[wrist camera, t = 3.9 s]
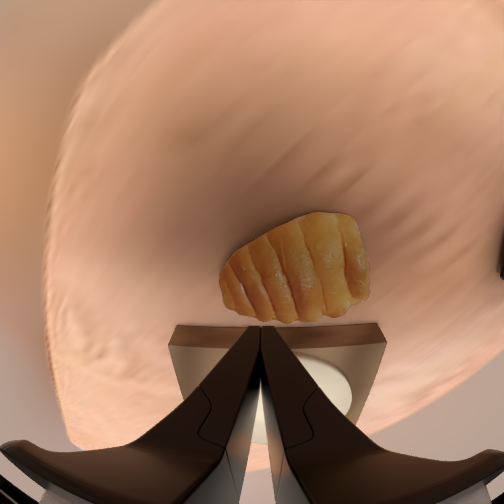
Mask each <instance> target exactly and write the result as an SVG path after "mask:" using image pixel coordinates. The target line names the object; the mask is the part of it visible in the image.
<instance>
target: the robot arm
mask: <svg viewBox="0 0 504 504" xmlns="http://www.w3.org/2000/svg"><path fill="white" fill-rule="evenodd" d="M500 278H501V279H503V280H504V263H503V266H502V270H501V274H500ZM260 384H261V396H262V404H263V412H264V419H265V427H266V435H267V443H268V450H269V458H270V466H271V473H272V481H273V488H274V495H275V501H276V504H504V493H502V494H501V495H499V496H498V497H497V498H495V499H494V500H492V501H491V499H490V496H489V493H488V490H487V488H486V485H487V484H488V483H490V482H491V481H492V480H493V479H495V478H496V477H497V476H498V475H500V474H501V473H502V472H503V471H504V452H502V451H498V450H492V449H487V450H484V451H482V452H480V453H478V454H476V455H475V456H473V457H471V458H468V459H465V460H460V461H439V460H432V459H426V458H420V457H415V456H410V455H405V454H400V453H395V452H391V451H388V450H386V449H384V448H382V447H380V446H378V445H377V444H376V443H374V442H373V441H372V440H371V439H369V438H368V437H367V436H366V435H365V434H364V433H363V432H362V431H361V430H360V429H359V428H358V427H356V426H355V425H354V424H353V423H352V422H351V421H350V420H349V419H348V418H347V417H346V416H345V415H344V414H343V413H342V412H341V411H340V410H339V409H338V408H337V407H336V406H335V405H334V404H333V403H332V402H331V400H330V399H329V398H328V397H327V396H326V395H325V393H324V392H323V391H322V389H321V388H320V387H319V386H318V384H317V383H316V382H315V380H314V379H313V378H312V376H311V375H310V374H309V372H308V371H307V370H306V369H305V367H304V366H303V365H302V363H301V362H300V361H299V359H298V358H297V357H296V355H295V354H294V353H293V351H292V350H291V349H290V347H289V346H288V345H287V343H286V342H285V341H284V339H283V338H282V337H281V335H280V334H279V333H278V331H277V330H276V328H275V327H274V326H262V327H260V326H248V327H247V328H246V330H245V331H244V332H243V333H242V334H241V336H240V337H239V338H238V339H237V340H236V342H235V343H234V344H233V345H232V346H231V348H230V349H229V350H228V351H227V352H226V354H225V355H224V356H223V357H222V358H221V359H220V361H219V362H218V363H217V364H216V365H215V366H214V368H213V369H212V370H211V371H210V372H209V373H208V374H207V376H206V377H205V378H204V379H203V380H202V381H201V382H200V384H199V386H197V387H196V388H195V389H194V390H193V391H192V392H191V394H190V395H189V396H188V397H187V398H186V399H185V400H184V401H183V402H182V403H181V404H180V405H179V406H178V407H176V408H175V409H174V410H173V411H172V412H171V413H170V414H168V415H167V416H166V417H165V418H164V419H162V420H161V421H160V422H159V423H157V424H156V425H155V426H154V427H152V428H151V429H150V430H149V431H147V432H146V433H145V434H144V435H142V436H141V437H140V438H138V439H137V440H135V441H133V442H131V443H129V444H127V445H123V446H119V447H113V448H106V449H98V450H89V451H78V452H52V451H48V450H45V449H42V448H40V447H38V446H36V445H35V444H33V443H31V442H29V441H27V440H15V441H9V442H7V443H4V444H2V445H1V446H0V451H1V452H2V454H3V455H4V456H5V457H6V458H7V459H8V460H10V461H11V462H12V463H13V464H14V465H15V466H16V467H18V468H19V469H20V470H21V471H22V472H23V473H25V474H26V475H27V476H28V477H30V478H31V479H32V480H33V481H35V482H36V483H37V484H39V485H40V486H41V487H43V488H44V489H45V491H44V493H43V495H42V498H41V500H40V502H39V503H38V502H37V501H36V500H34V499H33V498H31V497H29V496H28V495H27V494H25V493H24V492H23V491H21V490H20V489H18V488H17V487H16V486H14V485H13V484H12V483H11V482H9V481H8V480H6V479H5V478H4V477H3V476H2V475H0V504H239V500H240V495H241V490H242V485H243V481H244V476H245V471H246V466H247V460H248V455H249V450H250V445H251V439H252V434H253V428H254V423H255V417H256V412H257V406H258V400H259V394H260Z"/></svg>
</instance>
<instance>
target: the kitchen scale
mask: <svg viewBox="0 0 504 504" xmlns="http://www.w3.org/2000/svg"><path fill="white" fill-rule="evenodd" d="M245 330H246V328H224V327H197V326H179V325H177V326H176V328H175V331H174V333H173V335H172V337H171V339H170V342H169V344H168V347H169V351H170V355H171V358H172V362H173V366H174V369H175V373H176V376H177V380H178V383H179V386H180V390H181V393H182V396H183V399H184V400H185V399H186V398H187V397H188V396H189V395H190V394H191V392H192V391H193V390H194V389H195V388H196V387H197V386H199V384H200V382H201V381H202V380H203V379H204V378H205V377H206V376H207V374H208V373H209V372H210V371H211V370H212V369H213V368H214V366H215V365H216V364H217V363H218V362H219V361H220V359H221V358H222V357H223V356H224V355H225V354H226V352H227V351H228V350H229V349H230V348H231V346H232V345H233V344H234V343H235V342H236V340H237V339H238V338H239V337H240V336H241V334H242V333H243V332H244V331H245ZM276 330H277V331H278V333H279V334H280V335H281V337H282V338H283V339H284V341H285V342H286V343H287V345H288V346H289V347H290V349H291V350H292V351H293V353H294V354H295V355H296V357H297V358H298V359H299V361H300V362H301V363H302V365H303V366H304V367H305V369H306V370H307V371H308V372H309V374H310V375H311V376H312V378H313V379H314V380H315V382H316V383H317V384H318V386H319V387H320V388H321V389H322V391H323V392H324V393H325V395H326V396H327V397H328V398H329V399H330V400H331V402H332V403H333V404H334V405H335V406H336V407H337V408H338V409H339V410H340V411H341V412H342V413H343V414H344V415H345V416H346V417H347V418H348V419H349V420H350V421H351V422H352V423H353V424H354V425H356V423H357V421H358V418H359V416H360V414H361V412H362V409H363V407H364V405H365V402H366V400H367V397H368V395H369V392H370V390H371V387H372V385H373V382H374V379H375V377H376V374H377V371H378V368H379V366H380V363H381V360H382V357H383V354H384V351H385V348H386V344H387V341H386V339H385V337H384V335H383V333H382V331H381V330H380V328H379V326H378V324H377V323H373V324H360V325H346V326H327V327H301V328H276ZM251 443H256V444H265V445H268V443H267V435H266V427H265V419H264V412H263V404H262V396H261V384H260V394H259V400H258V406H257V412H256V417H255V423H254V428H253V434H252V439H251Z"/></svg>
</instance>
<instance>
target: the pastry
mask: <svg viewBox="0 0 504 504" xmlns="http://www.w3.org/2000/svg"><path fill="white" fill-rule="evenodd" d="M219 283H220V288H221V291H222V295H223V302H224V305H225V306H226V307H227V308H229V309H230V310H234V311H236V312H237V313H238V314H240V315H245V316H249V317H254V318H257V319H258V320H260V321H262V322H264V321H269V320H278V321H281V322H283V323H285V324H288V323H290V322H292V321H295V320H299V321H302V322H315V321H317V320H318V319H319V318H320V317H321V316H322V315H327V316H329V317H331V318H336V317H339V316H342V315H343V314H344V313H345V312H346V311H347V310H348V308H349V307H350V306H351V305H354V304H358V303H360V302H361V301H364V300H366V299H367V298H368V296H369V294H370V268H369V263H368V261H367V258H366V256H365V247H364V244H363V241H362V238H361V234H360V231H359V228H358V225H357V222H356V221H355V219H354V218H353V217H351V216H349V215H346V214H341V213H327V212H313V213H310V214H307V215H303V216H300V217H297V218H295V219H293V220H292V221H290V222H287V223H285V224H283V225H280V226H278V227H276V228H274V229H272V230H270V231H268V232H267V233H265V234H263V235H261V236H260V237H258V238H256V239H255V240H253V241H252V242H250V243H248V244H246V245H245V246H243V247H241V248H240V249H238V250H237V251H235V252H234V253H233V254H232V256H231V257H230V258H229V259H228V261H227V262H226V263H225V265H224V266H223V268H222V270H221V272H220V279H219Z"/></svg>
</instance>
